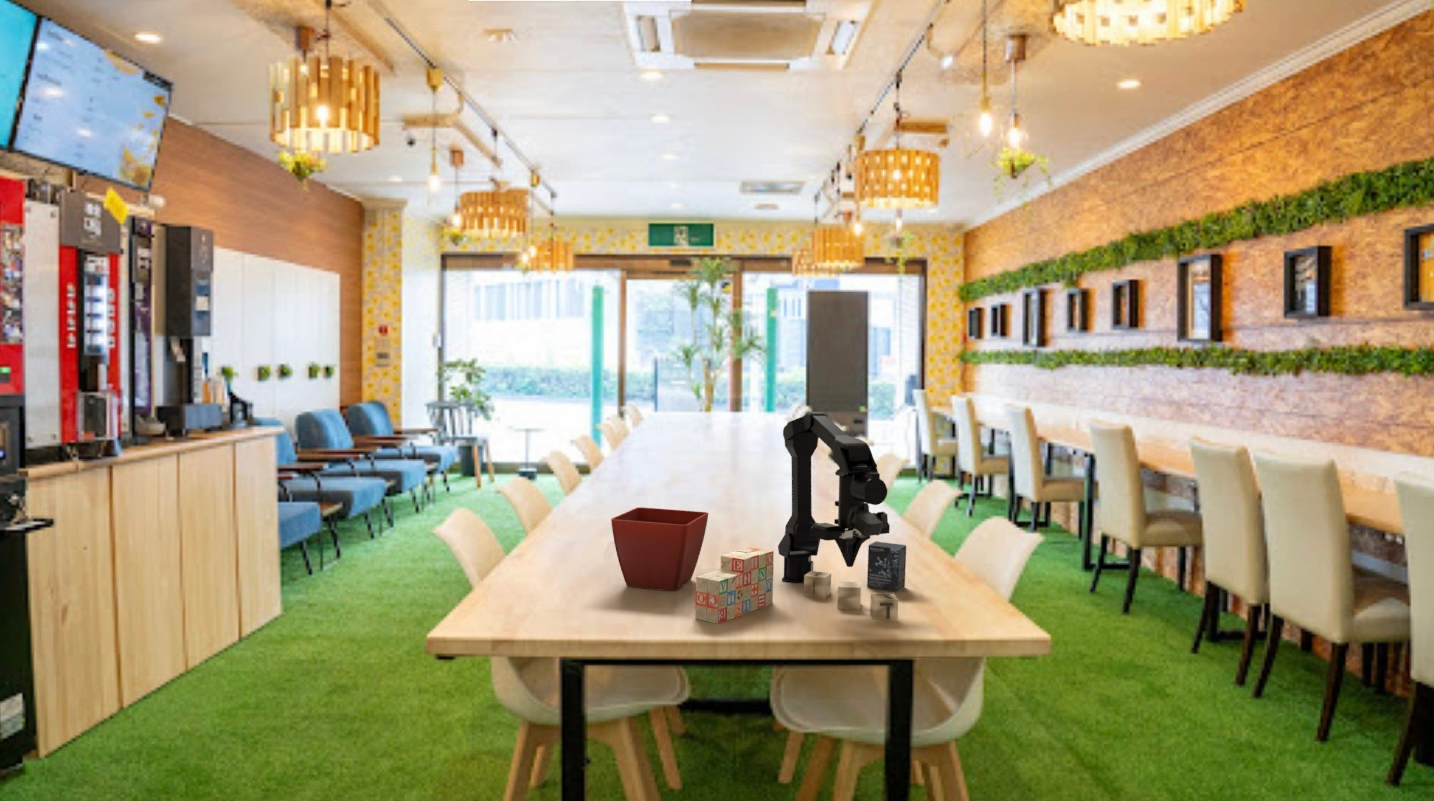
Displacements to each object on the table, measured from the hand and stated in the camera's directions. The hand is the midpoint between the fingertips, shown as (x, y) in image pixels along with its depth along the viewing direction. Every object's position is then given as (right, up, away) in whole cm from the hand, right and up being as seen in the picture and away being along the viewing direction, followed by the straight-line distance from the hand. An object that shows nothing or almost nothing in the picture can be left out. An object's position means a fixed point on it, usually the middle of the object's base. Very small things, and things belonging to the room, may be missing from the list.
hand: (849, 566), depth 214 cm
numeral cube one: (-6, -8, +10) cm, 15 cm away
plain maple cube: (0, -9, 0) cm, 9 cm away
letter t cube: (+6, -10, -9) cm, 15 cm away
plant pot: (-44, -8, +18) cm, 48 cm away
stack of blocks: (-26, -9, -5) cm, 28 cm away
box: (+11, -8, +18) cm, 23 cm away
